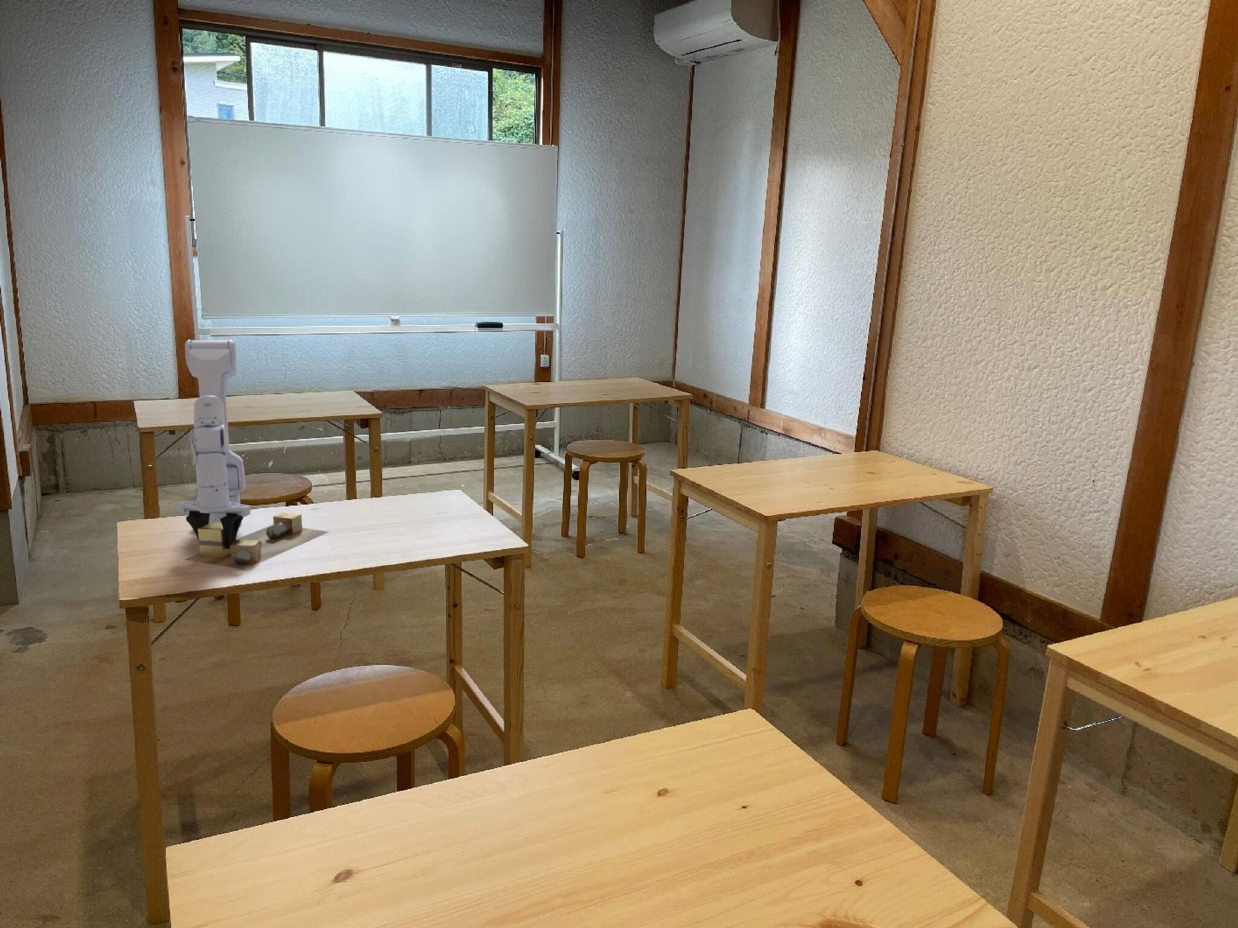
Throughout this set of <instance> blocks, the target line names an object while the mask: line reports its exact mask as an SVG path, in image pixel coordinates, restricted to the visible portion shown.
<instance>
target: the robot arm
mask: <svg viewBox="0 0 1238 928" xmlns="http://www.w3.org/2000/svg"><path fill="white" fill-rule="evenodd" d="M184 351H185V353H184V354H185V356H184V357H185V361H186V366H187V368H188V370H189V373H190V374H191V377H194V378H196V379H198V383H199V384H198V385H199V394H200V397H198V398H196V400H195V401H194V404H193V407H194V408H193V429H190V436H189V437H190V449H191V452H192V455H193V464H194V465H195V473H196V474H195V475H196V487H197V488H196V489H197V497H196V498H195V501H193V500H191V501H189V500H188V501H186V500H185V501H182V502H179V503H178V510H179V512H178V513H180V514H181V513H182V514H184V513H189V514H188V515H186V517H185V521H186V522H187V523H188V524H189V525H190V526H191V528H192V530H193V532H194V534H195V536H196V538H197V541H198V542H199V536H198V528H200V527H202V526H204V525H206V524H208V523H210V522H221V523H222V526H223V529H224V534H225V544H226V548H227V549H230V545H231V544H232V543H233V542H234V541H235V540H236V539H237V536H238V535H237V534H238V531H239V528H240V527H241V526H242V525H243V520H244V517H245V518H246V517H248V516H249V515H251V505H250V504H249V505H248V504H242V503H241V495H240V493H241V492H243V491H244V490H245V489H246V474H245V467H244V460H243V459H242V457H241V456H240V455H238V454H236V452H233V451H232V450H231V449H230V439H229V438H230V437H229V420H228V407H227V406H228V405H227V390H226V386H227V382H228V379H230V378H233V377H234V376H236V372H237V353H236V343H235V341H234V340H233V339H232V338H231V339H209V340H208V339H207V340H205V339H202V340H200V339H199V340H197V339H196V340H195V339H188V340H186V342H185V344H184Z"/></svg>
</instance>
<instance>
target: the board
mask: <svg viewBox="0 0 1238 928" xmlns="http://www.w3.org/2000/svg"><path fill="white" fill-rule="evenodd" d="M273 525H274V523H273V524H271V525H268V526H265V527H263V528H261V529H258V530H256V531H254V532H251V533H249V534H246V535H245V534H244V535H242V536H240V537H239V538H236V540H250V539H252V538H256V539H259V540H260V541H261V544H262V546H261V558H260V559H259V560H258V561H257V563H247V564H245V565H238V564H237V563H231V553H230V554H229V555H227V556H225V557H224V558H217V557H202V556H200V553H197V554H194V555H192V556H189V557H187V558H185V559H184V560H186V561H190V562H191V561H192V562H197V563H203V564H209V565H216V566H220V567H227V568H231V569H237V570H238V569H239V570H247V569H249V568H251V567H254V566H256V565H258V564H260V563H262V562H264V561H267V560H269V559H271V558H274V557H275V556H278V555H280V554H283V553H284V552H286V551H287V552H288V551H289V550H291V549H295V548H296V547H298V546H300V545H303V544H305V543H307V542H309V541H313V540H314V539H317V538H319V537H321V536H323V535H325V534H326V535H327V533H329V531H326V530H319V529H313V528H305V527H302V531H300V532H298V533H296V534H294V535H290V534H284V535H282V536H280V537H278V538H276V539H270V538H268V536H267V534H266V530H267V529H268V528H269V527H271V526H273Z"/></svg>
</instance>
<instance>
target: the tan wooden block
mask: <svg viewBox="0 0 1238 928" xmlns="http://www.w3.org/2000/svg"><path fill="white" fill-rule="evenodd" d="M198 536H199V541H198V545H199V554H200V556H202V557H217V558H224V557H225V556H227V555H229V554H230V553H231V550H230V549H227V548H226V544H225V534H224V529H223V526H222V523H221V522H210V523H208V524H206V525H204V526H202V527H200V528H198Z"/></svg>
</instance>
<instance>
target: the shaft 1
mask: <svg viewBox="0 0 1238 928" xmlns="http://www.w3.org/2000/svg"><path fill="white" fill-rule="evenodd" d="M261 546H262V544H261V541H260V540H259V539H256V538H252V539H250V540H235V541H234V542H233V543H232V544H231V545H230V550H231V563H237V564H238V565H245V564H247V563H257V561H258V560H259V559H260V558H261Z"/></svg>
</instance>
